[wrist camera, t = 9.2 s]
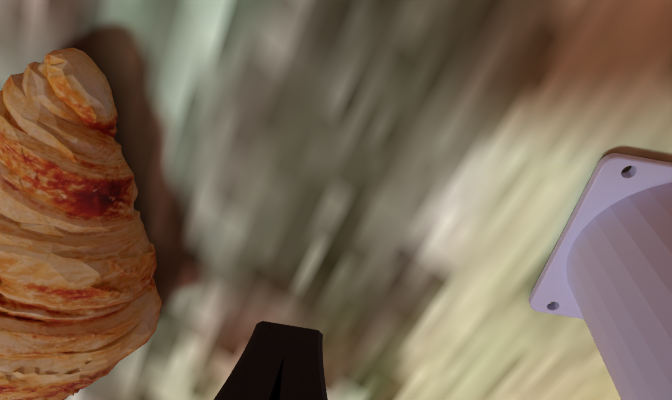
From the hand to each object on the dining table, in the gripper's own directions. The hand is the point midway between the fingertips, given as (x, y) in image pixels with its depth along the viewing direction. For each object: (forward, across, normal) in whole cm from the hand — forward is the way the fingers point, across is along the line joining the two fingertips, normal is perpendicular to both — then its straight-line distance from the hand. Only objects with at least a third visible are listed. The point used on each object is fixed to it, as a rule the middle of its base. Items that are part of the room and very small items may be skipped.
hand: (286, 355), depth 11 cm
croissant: (+10, +11, +8) cm, 17 cm away
